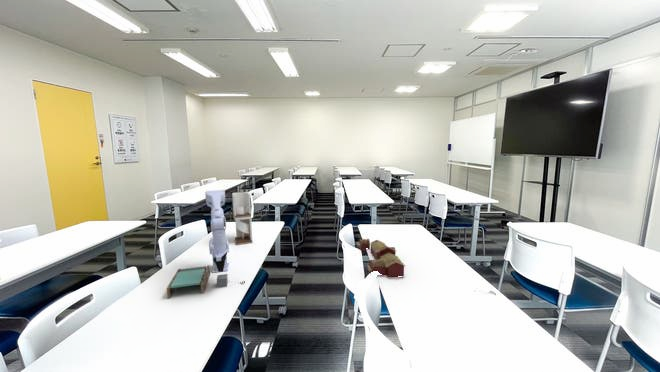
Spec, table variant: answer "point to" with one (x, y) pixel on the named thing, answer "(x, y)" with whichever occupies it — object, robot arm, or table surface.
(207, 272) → the frame
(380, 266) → the toy houses
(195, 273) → the trapdoor
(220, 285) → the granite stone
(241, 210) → the display case
